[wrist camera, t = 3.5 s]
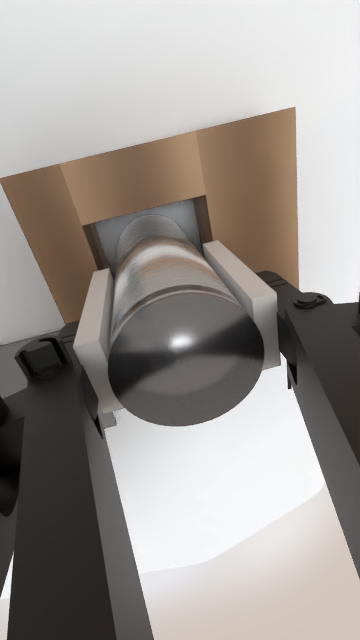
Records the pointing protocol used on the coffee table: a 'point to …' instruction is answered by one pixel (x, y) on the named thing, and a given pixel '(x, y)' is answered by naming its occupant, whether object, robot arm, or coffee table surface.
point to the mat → (7, 378)
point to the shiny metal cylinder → (177, 330)
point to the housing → (166, 200)
